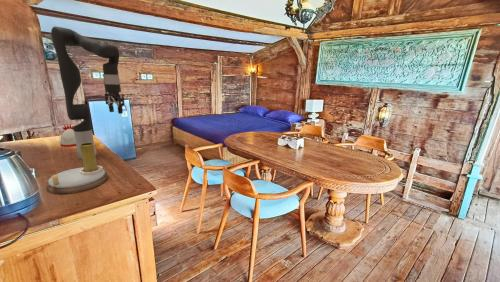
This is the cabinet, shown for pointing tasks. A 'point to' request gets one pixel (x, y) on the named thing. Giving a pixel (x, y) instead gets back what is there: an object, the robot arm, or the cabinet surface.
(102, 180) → the turntable base
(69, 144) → the kitchen timer
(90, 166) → the vase
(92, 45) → the robot arm
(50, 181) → the turntable
